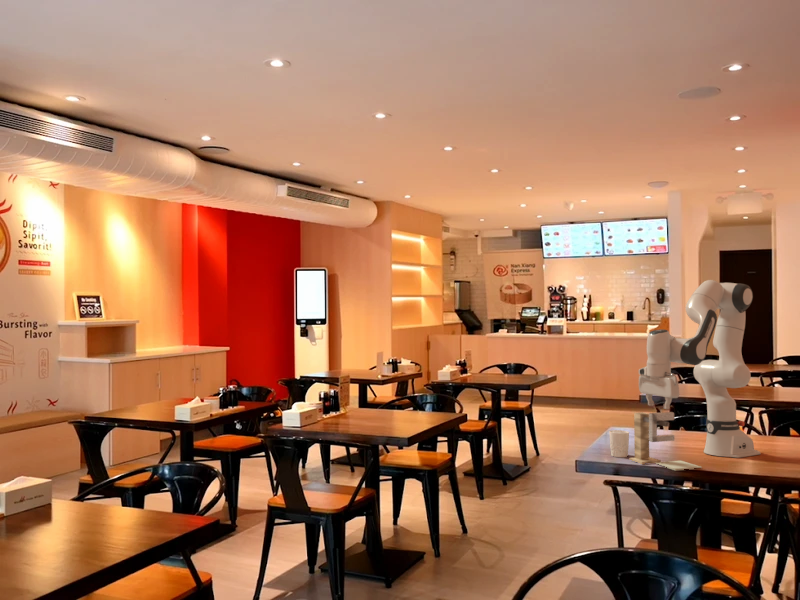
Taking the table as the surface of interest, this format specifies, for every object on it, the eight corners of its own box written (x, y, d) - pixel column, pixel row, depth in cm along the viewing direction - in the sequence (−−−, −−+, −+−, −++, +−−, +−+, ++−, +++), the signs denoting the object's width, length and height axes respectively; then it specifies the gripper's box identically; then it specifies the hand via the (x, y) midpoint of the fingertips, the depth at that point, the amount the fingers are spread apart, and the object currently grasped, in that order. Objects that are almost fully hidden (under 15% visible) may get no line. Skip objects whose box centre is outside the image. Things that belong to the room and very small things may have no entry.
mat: (680, 461, 284) (680, 460, 284) (701, 468, 273) (701, 466, 273) (655, 464, 281) (655, 462, 281) (675, 470, 269) (675, 469, 269)
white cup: (630, 458, 292) (630, 433, 292) (610, 457, 294) (610, 433, 294) (628, 454, 300) (628, 430, 300) (608, 453, 302) (608, 429, 302)
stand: (648, 458, 291) (647, 412, 291) (677, 468, 273) (677, 418, 274) (629, 460, 288) (628, 413, 288) (657, 470, 271) (657, 419, 271)
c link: (671, 439, 280) (670, 411, 280) (674, 440, 278) (674, 412, 278) (649, 441, 277) (648, 413, 277) (652, 442, 275) (652, 413, 275)
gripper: (683, 373, 268) (683, 410, 268) (649, 369, 288) (649, 403, 288) (669, 373, 266) (669, 411, 266) (635, 369, 286) (635, 404, 286)
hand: (658, 407), depth 277 cm, fingers open, 8 cm apart
